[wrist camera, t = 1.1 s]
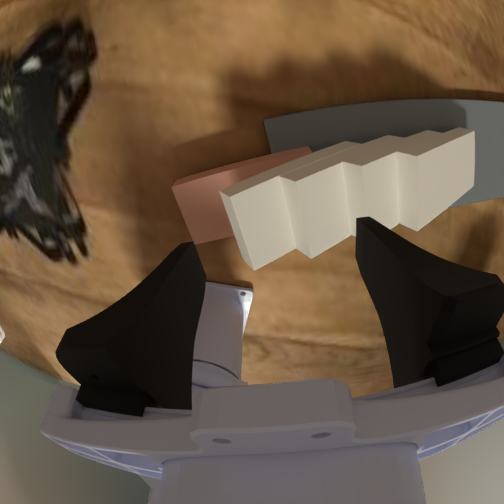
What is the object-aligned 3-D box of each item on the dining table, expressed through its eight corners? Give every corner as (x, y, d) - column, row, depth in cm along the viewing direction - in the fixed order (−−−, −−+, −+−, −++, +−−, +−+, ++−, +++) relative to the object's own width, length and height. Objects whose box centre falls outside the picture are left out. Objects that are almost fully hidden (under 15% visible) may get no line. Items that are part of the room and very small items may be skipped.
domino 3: (429, 186, 20) (351, 234, 18) (427, 129, 18) (341, 161, 15) (444, 192, 19) (368, 243, 16) (443, 133, 16) (361, 166, 14)
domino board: (290, 235, 24) (291, 240, 23) (262, 119, 19) (263, 120, 18) (511, 191, 20) (515, 194, 20) (514, 102, 15) (519, 104, 14)
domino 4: (459, 180, 20) (398, 223, 17) (458, 127, 17) (395, 151, 15) (473, 186, 18) (417, 231, 16) (474, 130, 16) (416, 156, 13)
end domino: (319, 207, 22) (198, 234, 23) (307, 146, 19) (176, 179, 21) (323, 216, 20) (194, 245, 22) (312, 151, 18) (171, 187, 19)
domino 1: (353, 201, 21) (243, 259, 19) (345, 141, 19) (219, 190, 16) (368, 207, 20) (254, 270, 17) (361, 143, 17) (229, 197, 15)
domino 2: (392, 194, 21) (296, 248, 18) (387, 135, 18) (279, 176, 16) (407, 199, 19) (311, 258, 17) (404, 137, 17) (295, 181, 14)
